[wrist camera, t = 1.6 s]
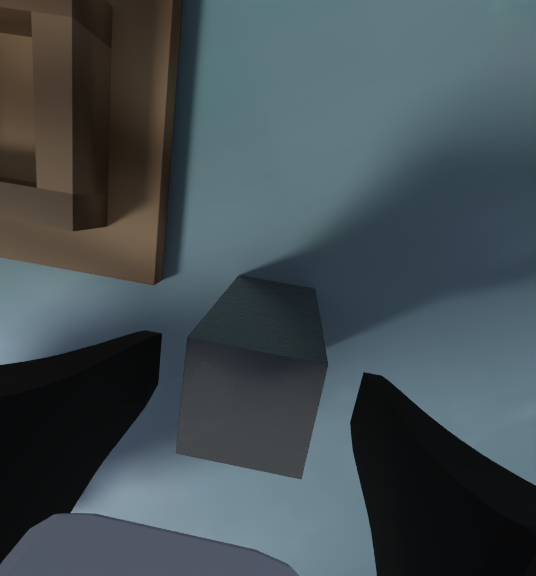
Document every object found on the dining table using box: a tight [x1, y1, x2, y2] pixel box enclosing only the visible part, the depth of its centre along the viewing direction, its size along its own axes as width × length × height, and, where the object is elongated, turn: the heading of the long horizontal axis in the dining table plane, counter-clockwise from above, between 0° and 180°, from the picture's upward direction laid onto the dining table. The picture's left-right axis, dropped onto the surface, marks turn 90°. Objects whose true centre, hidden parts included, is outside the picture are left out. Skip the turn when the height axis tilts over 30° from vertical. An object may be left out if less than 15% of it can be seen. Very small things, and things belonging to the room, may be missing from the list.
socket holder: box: [0, 0, 182, 285], centre depth 14 cm, size 14×14×4 cm
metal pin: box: [176, 275, 328, 479], centre depth 14 cm, size 4×4×8 cm
